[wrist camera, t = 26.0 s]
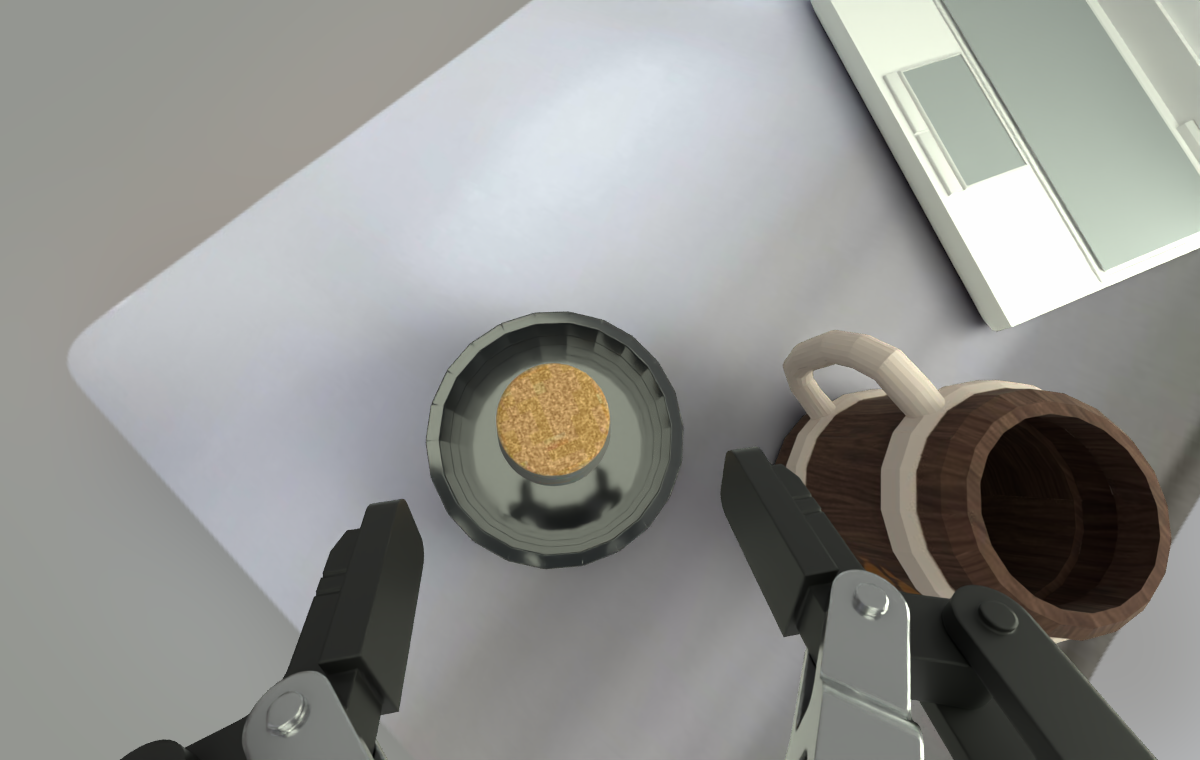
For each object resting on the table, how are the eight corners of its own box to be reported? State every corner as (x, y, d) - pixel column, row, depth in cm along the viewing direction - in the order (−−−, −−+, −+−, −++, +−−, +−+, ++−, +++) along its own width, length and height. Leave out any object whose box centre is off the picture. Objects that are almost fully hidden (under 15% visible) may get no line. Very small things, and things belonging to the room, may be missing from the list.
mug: (992, 510, 36) (1286, 537, 22) (859, 645, 34) (1090, 781, 19) (823, 312, 38) (986, 214, 24) (683, 424, 36) (770, 392, 21)
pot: (509, 594, 32) (498, 622, 26) (413, 394, 34) (383, 378, 28) (700, 484, 35) (729, 487, 29) (600, 303, 37) (608, 272, 31)
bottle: (592, 397, 35) (616, 345, 20) (599, 477, 34) (630, 483, 19) (513, 403, 34) (478, 354, 20) (517, 485, 33) (484, 497, 19)
